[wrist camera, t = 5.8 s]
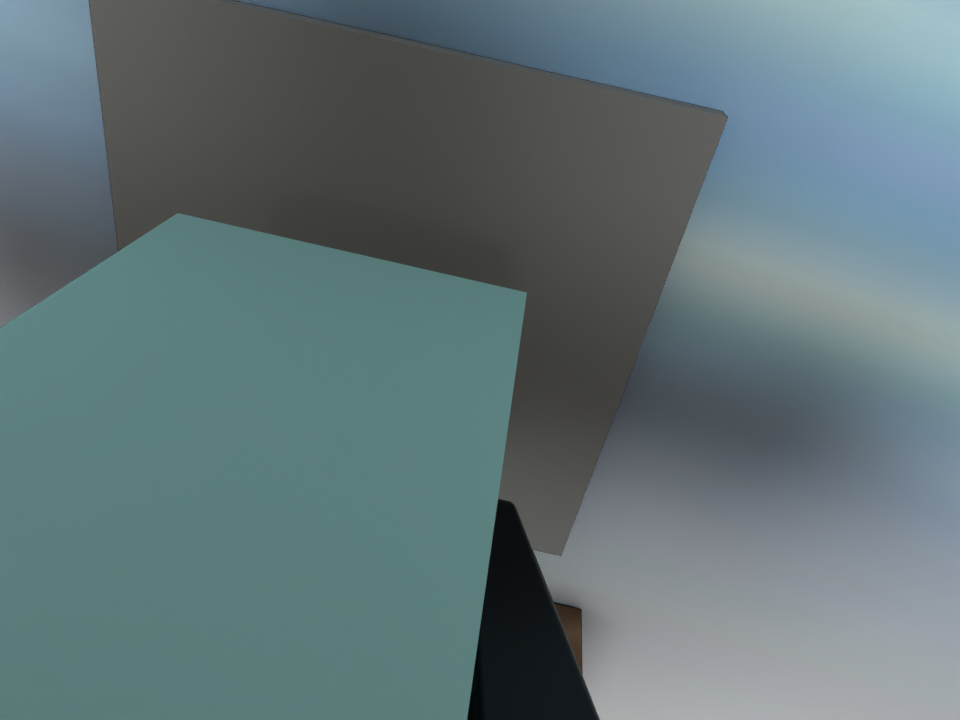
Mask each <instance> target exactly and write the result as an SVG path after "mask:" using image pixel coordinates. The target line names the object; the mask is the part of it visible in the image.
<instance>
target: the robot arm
mask: <svg viewBox="0 0 960 720" xmlns="http://www.w3.org/2000/svg"><path fill="white" fill-rule="evenodd" d="M467 720H600V719H599V716H598V714H597V711H596V709H595V706H594V704H593V701H592V699H591V696H590V694H589V691H588V689H587V686H586V683H585V681H584V678H583V676H582V673H581V671H580V668H579V666H578V663H577V661H576V658H575V656H574V653H573V650H572V648H571V645H570V643H569V640H568V638H567V635H566V633H565V630H564V628H563V625H562V623H561V620H560V617H559V615H558V612H557V610H556V607H555V605H554V602H553V600H552V597H551V595H550V592H549V590H548V587H547V584H546V582H545V579H544V577H543V574H542V572H541V569H540V567H539V564H538V562H537V559H536V557H535V554H534V551H533V549H532V546H531V544H530V541H529V539H528V536H527V534H526V531H525V529H524V526H523V524H522V521H521V518H520V516H519V513H518V511H517V509H516V506H515V505H514V504H513V503H512V502H510V501H507V500H502V499H498V503H497V510H496V517H495V524H494V531H493V538H492V545H491V553H490V560H489V567H488V574H487V581H486V588H485V595H484V602H483V609H482V617H481V624H480V631H479V638H478V645H477V652H476V659H475V666H474V674H473V681H472V688H471V695H470V702H469V709H468V716H467Z"/></svg>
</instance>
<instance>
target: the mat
mask: <svg viewBox="0 0 960 720" xmlns="http://www.w3.org/2000/svg"><path fill="white" fill-rule="evenodd" d="M89 7H90V16H91V24H92V33H93V41H94V50H95V58H96V67H97V75H98V84H99V92H100V101H101V109H102V118H103V126H104V135H105V143H106V152H107V160H108V169H109V177H110V186H111V194H112V203H113V211H114V220H115V228H116V237H117V245H118V251H120V250H121V249H123V248H124V247H126V246H128V245H129V244H131V243H132V242H134V241H135V240H137V239H138V238H140V237H141V236H143V235H145V234H146V233H148V232H149V231H151V230H152V229H154V228H155V227H157V226H159V225H160V224H162V223H163V222H165V221H166V220H168V219H169V218H171V217H172V216H174V215H176V214H177V213H180V214H184V215H189V216H193V217H197V218H202V219H206V220H211V221H215V222H219V223H224V224H228V225H232V226H237V227H241V228H246V229H250V230H254V231H259V232H263V233H268V234H272V235H276V236H281V237H285V238H290V239H294V240H298V241H303V242H307V243H311V244H316V245H320V246H325V247H329V248H333V249H338V250H342V251H347V252H351V253H355V254H360V255H364V256H369V257H373V258H377V259H382V260H386V261H390V262H395V263H399V264H404V265H408V266H412V267H417V268H421V269H426V270H430V271H434V272H439V273H443V274H448V275H452V276H456V277H461V278H465V279H469V280H474V281H478V282H483V283H487V284H491V285H496V286H500V287H505V288H509V289H513V290H518V291H522V292H527V296H526V303H525V310H524V317H523V324H522V332H521V339H520V346H519V353H518V360H517V367H516V374H515V381H514V389H513V396H512V403H511V410H510V417H509V424H508V431H507V439H506V446H505V453H504V460H503V467H502V474H501V481H500V488H499V495H498V499H502V500H507V501H510V502H512V503H513V504H514V505H515V506H516V509H517V511H518V513H519V516H520V518H521V521H522V524H523V526H524V529H525V531H526V534H527V536H528V539H529V541H530V544H531V546H532V549H533V550H537V551H541V552H545V553H550V554H554V555H559V556H561V555H562V552H563V549H564V547H565V544H566V542H567V539H568V536H569V534H570V531H571V528H572V526H573V523H574V521H575V518H576V515H577V513H578V510H579V507H580V505H581V502H582V500H583V497H584V494H585V492H586V489H587V486H588V484H589V481H590V478H591V476H592V473H593V471H594V468H595V465H596V463H597V460H598V457H599V455H600V452H601V450H602V447H603V444H604V442H605V439H606V436H607V434H608V431H609V429H610V426H611V423H612V421H613V418H614V415H615V413H616V410H617V408H618V405H619V402H620V400H621V397H622V394H623V392H624V389H625V386H626V384H627V381H628V379H629V376H630V373H631V371H632V368H633V365H634V363H635V360H636V358H637V355H638V352H639V350H640V347H641V344H642V342H643V339H644V337H645V334H646V331H647V329H648V326H649V323H650V321H651V318H652V316H653V313H654V310H655V308H656V305H657V302H658V300H659V297H660V295H661V292H662V289H663V287H664V284H665V281H666V279H667V276H668V273H669V271H670V268H671V266H672V263H673V260H674V258H675V255H676V252H677V250H678V247H679V245H680V242H681V239H682V237H683V234H684V231H685V229H686V226H687V224H688V221H689V218H690V216H691V213H692V210H693V208H694V205H695V203H696V200H697V197H698V195H699V192H700V189H701V187H702V184H703V181H704V179H705V176H706V174H707V171H708V168H709V166H710V163H711V160H712V158H713V155H714V153H715V150H716V147H717V145H718V142H719V139H720V137H721V134H722V132H723V129H724V126H725V124H726V121H727V118H728V117H727V116H726V115H725V114H724V112H723V111H719V110H715V109H710V108H706V107H701V106H697V105H693V104H688V103H684V102H679V101H675V100H670V99H666V98H662V97H657V96H653V95H648V94H644V93H640V92H635V91H631V90H626V89H622V88H618V87H613V86H609V85H604V84H600V83H596V82H591V81H587V80H582V79H578V78H574V77H569V76H565V75H560V74H556V73H552V72H547V71H543V70H538V69H534V68H530V67H525V66H521V65H516V64H512V63H508V62H503V61H499V60H494V59H490V58H486V57H481V56H477V55H472V54H468V53H464V52H459V51H455V50H450V49H446V48H442V47H437V46H433V45H428V44H424V43H420V42H415V41H411V40H406V39H402V38H398V37H393V36H389V35H384V34H380V33H376V32H371V31H367V30H362V29H358V28H354V27H349V26H345V25H340V24H336V23H331V22H327V21H323V20H318V19H314V18H309V17H305V16H301V15H296V14H292V13H287V12H283V11H279V10H274V9H270V8H265V7H261V6H257V5H252V4H248V3H243V2H239V1H235V0H89Z"/></svg>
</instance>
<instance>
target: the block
mask: <svg viewBox="0 0 960 720" xmlns="http://www.w3.org/2000/svg"><path fill="white" fill-rule="evenodd" d="M526 296H527V292H522V291H518V290H513V289H509V288H505V287H500V286H496V285H491V284H487V283H483V282H478V281H474V280H469V279H465V278H461V277H456V276H452V275H448V274H443V273H439V272H434V271H430V270H426V269H421V268H417V267H412V266H408V265H404V264H399V263H395V262H390V261H386V260H382V259H377V258H373V257H369V256H364V255H360V254H355V253H351V252H347V251H342V250H338V249H333V248H329V247H325V246H320V245H316V244H311V243H307V242H303V241H298V240H294V239H290V238H285V237H281V236H276V235H272V234H268V233H263V232H259V231H254V230H250V229H246V228H241V227H237V226H232V225H228V224H224V223H219V222H215V221H211V220H206V219H202V218H197V217H193V216H189V215H184V214H180V213H177V214H176V215H174V216H172V217H171V218H169V219H168V220H166V221H165V222H163V223H162V224H160V225H159V226H157V227H155V228H154V229H152V230H151V231H149V232H148V233H146V234H145V235H143V236H141V237H140V238H138V239H137V240H135V241H134V242H132V243H131V244H129V245H128V246H126V247H124V248H123V249H121V250H120V251H118V252H117V253H115V254H114V255H112V256H110V257H109V258H107V259H106V260H104V261H103V262H101V263H100V264H98V265H96V266H95V267H93V268H92V269H90V270H89V271H87V272H86V273H84V274H83V275H81V276H79V277H78V278H76V279H75V280H73V281H72V282H70V283H69V284H67V285H65V286H64V287H62V288H61V289H59V290H58V291H56V292H55V293H53V294H51V295H50V296H48V297H47V298H45V299H44V300H42V301H41V302H39V303H38V304H36V305H34V306H33V307H31V308H30V309H28V310H27V311H25V312H24V313H22V314H20V315H19V316H17V317H16V318H14V319H13V320H11V321H10V322H8V323H7V324H5V325H3V326H2V327H0V720H467V716H468V709H469V702H470V695H471V688H472V681H473V674H474V666H475V659H476V652H477V645H478V638H479V631H480V624H481V617H482V609H483V602H484V595H485V588H486V581H487V574H488V567H489V560H490V553H491V545H492V538H493V531H494V524H495V517H496V510H497V503H498V495H499V488H500V481H501V474H502V467H503V460H504V453H505V446H506V439H507V431H508V424H509V417H510V410H511V403H512V396H513V389H514V381H515V374H516V367H517V360H518V353H519V346H520V339H521V332H522V324H523V317H524V310H525V303H526Z"/></svg>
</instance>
